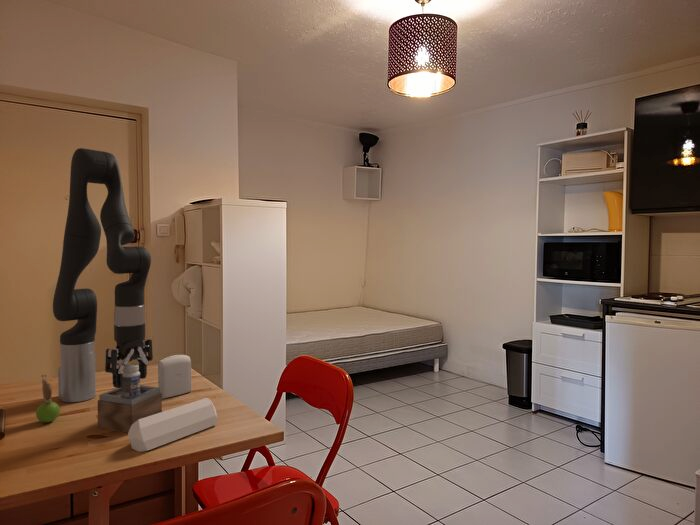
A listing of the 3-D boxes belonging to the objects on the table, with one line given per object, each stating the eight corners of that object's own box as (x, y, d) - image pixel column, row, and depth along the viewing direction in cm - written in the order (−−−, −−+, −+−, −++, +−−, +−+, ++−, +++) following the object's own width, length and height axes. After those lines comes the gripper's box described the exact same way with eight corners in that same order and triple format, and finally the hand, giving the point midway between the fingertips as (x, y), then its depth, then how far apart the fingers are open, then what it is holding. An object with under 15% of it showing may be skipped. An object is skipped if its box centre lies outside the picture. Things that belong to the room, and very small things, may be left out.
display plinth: (97, 427, 126) (97, 395, 126) (129, 412, 136) (129, 383, 136) (132, 433, 123) (131, 400, 122) (161, 418, 133) (161, 387, 132)
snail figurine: (56, 415, 134) (55, 372, 133) (62, 422, 129) (61, 377, 128) (33, 420, 130) (32, 376, 129) (38, 427, 125) (37, 381, 125)
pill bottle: (133, 400, 126) (132, 368, 126) (117, 398, 127) (116, 367, 127) (144, 394, 131) (143, 363, 131) (128, 393, 132) (128, 362, 132)
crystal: (201, 402, 135) (117, 429, 115) (215, 394, 131) (131, 421, 112) (209, 428, 133) (125, 460, 114) (224, 421, 129) (140, 453, 110)
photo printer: (162, 400, 147) (162, 359, 147) (156, 396, 150) (155, 357, 150) (193, 392, 155) (193, 354, 154) (186, 389, 158) (186, 351, 157)
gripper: (137, 317, 136) (138, 374, 137) (96, 325, 122) (97, 389, 123) (160, 318, 134) (160, 377, 134) (120, 328, 120) (121, 392, 121)
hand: (130, 382), depth 129 cm, fingers open, 8 cm apart
